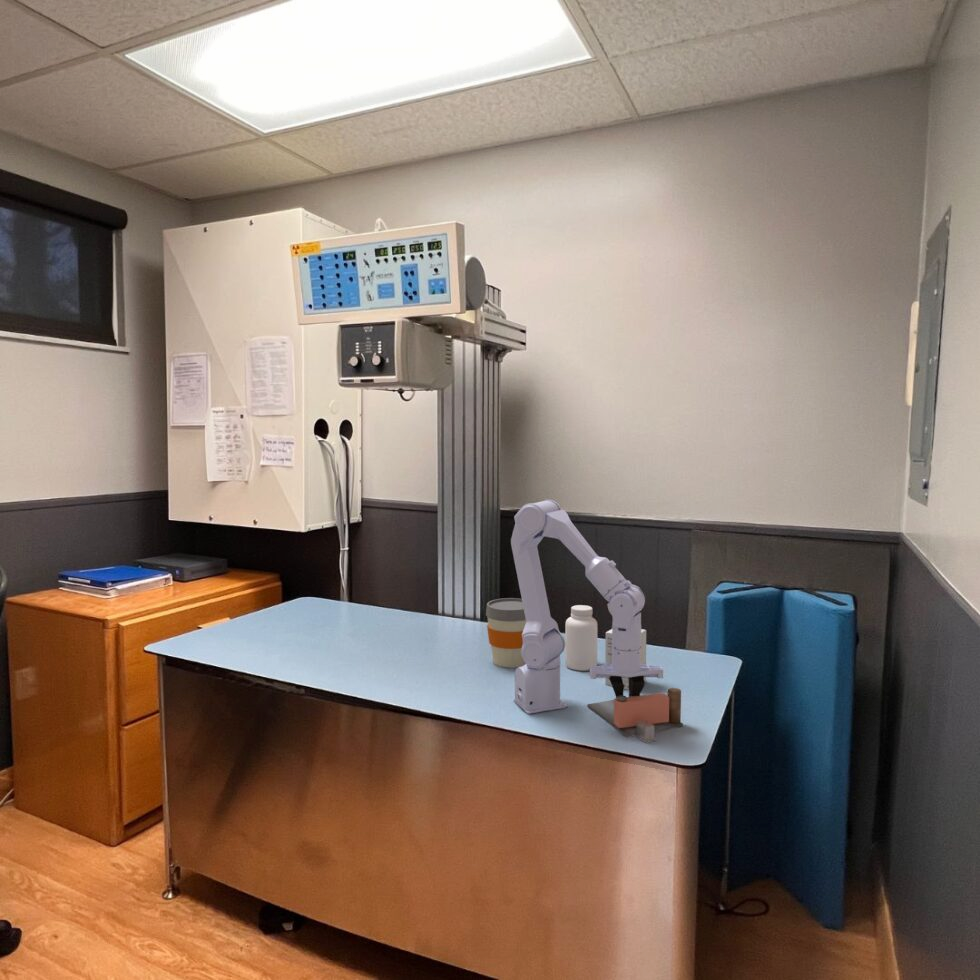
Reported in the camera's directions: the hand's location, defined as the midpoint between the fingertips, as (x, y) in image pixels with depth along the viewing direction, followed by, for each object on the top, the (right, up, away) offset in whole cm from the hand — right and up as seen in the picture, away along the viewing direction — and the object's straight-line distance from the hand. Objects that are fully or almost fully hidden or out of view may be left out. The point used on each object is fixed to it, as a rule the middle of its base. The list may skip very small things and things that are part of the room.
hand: (625, 711), depth 140 cm
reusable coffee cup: (-22, +1, +37) cm, 43 cm away
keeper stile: (+2, -3, -7) cm, 8 cm away
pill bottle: (-5, +1, +33) cm, 33 cm away
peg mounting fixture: (+2, -2, +3) cm, 4 cm away
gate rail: (+3, -1, -3) cm, 4 cm away
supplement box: (+4, 0, +21) cm, 22 cm away
